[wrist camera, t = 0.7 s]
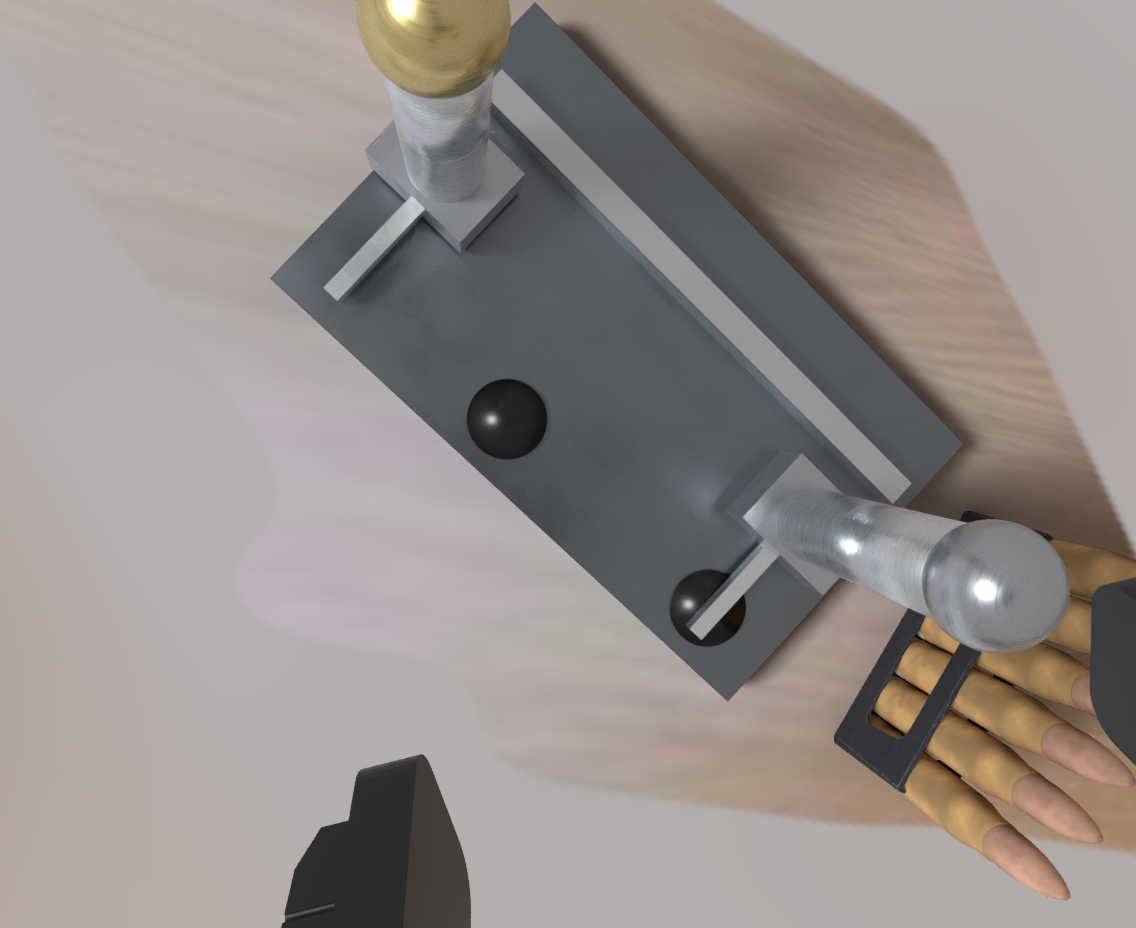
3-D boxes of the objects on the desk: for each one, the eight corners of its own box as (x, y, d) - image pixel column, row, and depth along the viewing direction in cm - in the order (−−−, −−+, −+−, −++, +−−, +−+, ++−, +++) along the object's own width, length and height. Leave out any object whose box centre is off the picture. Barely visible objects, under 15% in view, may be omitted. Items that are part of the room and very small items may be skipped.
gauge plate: (282, 286, 31) (261, 272, 28) (530, 27, 32) (538, -15, 28) (712, 684, 34) (737, 712, 31) (934, 441, 34) (982, 445, 31)
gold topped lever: (288, 254, 29) (129, 117, 15) (433, 103, 29) (406, -166, 15) (379, 339, 29) (304, 279, 16) (520, 189, 29) (568, 3, 16)
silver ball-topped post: (649, 591, 31) (793, 734, 18) (780, 450, 32) (1022, 482, 18) (727, 663, 32) (924, 856, 18) (855, 524, 32) (1145, 610, 18)
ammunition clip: (868, 761, 35) (1076, 943, 23) (831, 740, 35) (1021, 913, 23) (1002, 532, 35) (1278, 596, 23) (965, 509, 35) (1226, 562, 23)
